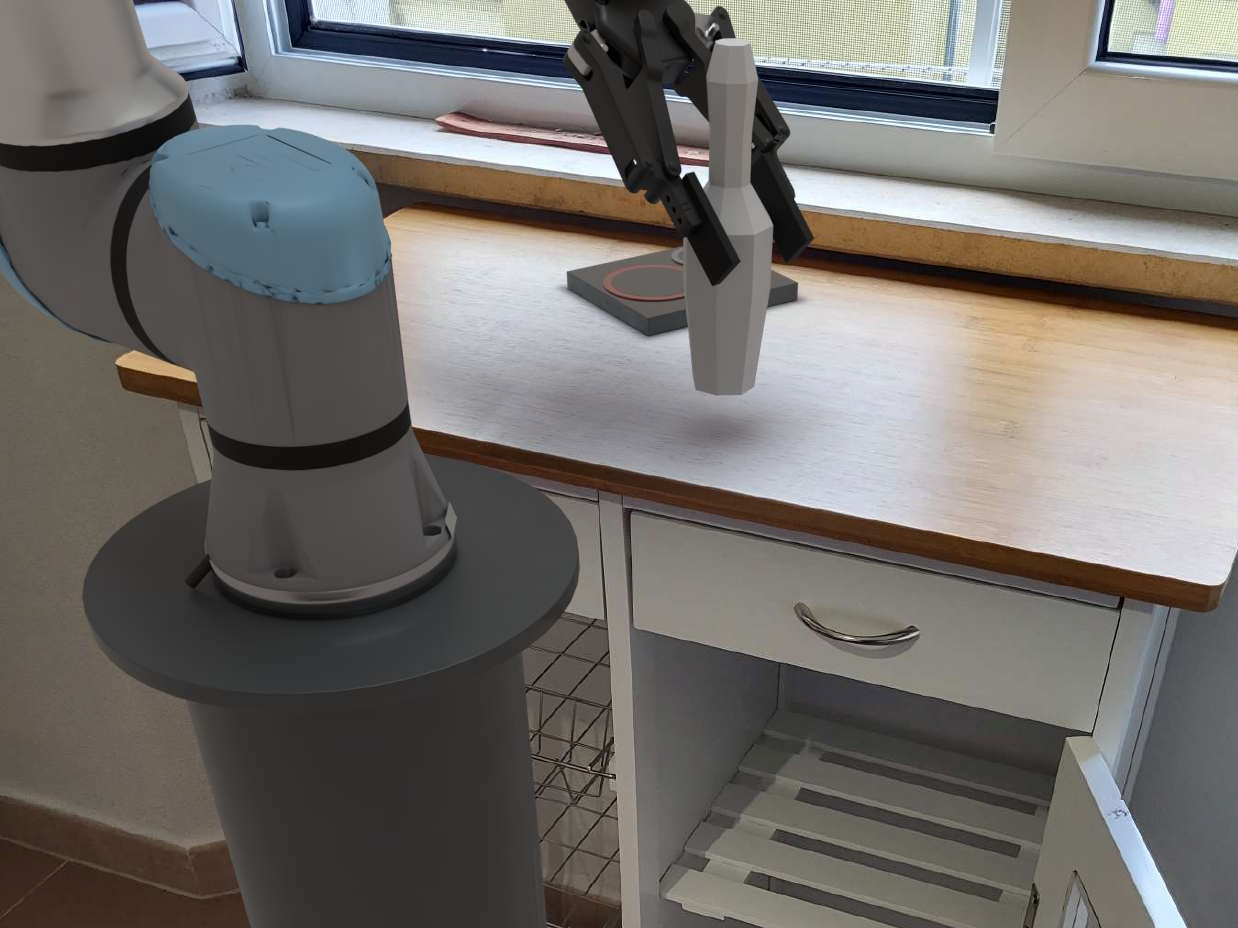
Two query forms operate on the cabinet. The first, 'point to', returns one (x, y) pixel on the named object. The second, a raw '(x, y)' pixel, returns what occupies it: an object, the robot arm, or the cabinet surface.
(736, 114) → the low poly bottle
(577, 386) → the cabinet surface
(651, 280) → the hob
